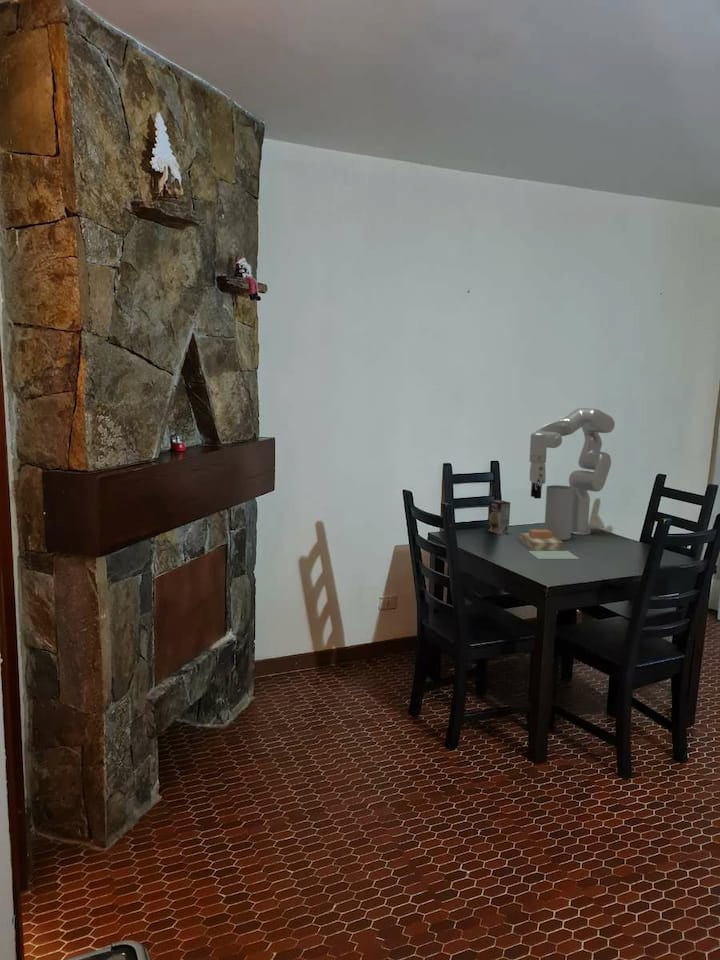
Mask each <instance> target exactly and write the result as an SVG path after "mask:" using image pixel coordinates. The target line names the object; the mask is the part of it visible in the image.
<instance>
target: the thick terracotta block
mask: <svg viewBox="0 0 720 960" xmlns="http://www.w3.org/2000/svg"><path fill="white" fill-rule="evenodd" d="M528 533H529V536H530V537H531V538H533V539H552V532H551V531H550V530H548V529H544V528H543V529H535V528H532V529H528Z"/></svg>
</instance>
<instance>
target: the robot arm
mask: <svg viewBox="0 0 720 960" xmlns="http://www.w3.org/2000/svg"><path fill="white" fill-rule="evenodd" d="M615 423H616V422H615V420H614V418H613V417H612V416H611V415H609V414H608V413H605V412H604V411H602V410H600V409H597V408H594V407H593V408H591V407H589V408H587V407H586V408H585V407H579V408H576V409H574V410H573V411H572V412H570V413H569V414H568V415H566V416H565V417H563V418H562V419H558V420H556V421H553V422H550V423H547V424H545V425H543V426H541V427H540V428H538V429H536V431H534V432H532V433H531V434H530V444H529V445H530V446H529V463H530V466H529V481H530V482H531V483H530V484H531V485H530V488H531V489H530V497H531V498H534V499H541V498H542V487H543V485H544V484H546V481H547V479H546V473H547V472H546V471H547V470H546V463H547V449H548V448H549V449H550V448H551V449H556V448H559V446H561V445H562V443H563V438H562V437H566V436H570V435H572V434H574V433H575V432H577V431H578V430H579V429H580V428H581V429H582V432H583V434H584V442H583V446H582V449H581V451H580V456H579V457H578V466H579V468H581V470H580V469H578V470H573V471H572V472H571V473H570V474H569V477H568V484H569V485H568V486H569V487H573V488H574V489H573V506H572V523H571V533H572V534H571V535H576V536H577V535H579V536H580V535H581V536H583V535H584V536H586V535H590V534H592V530H598V529H599V528H598V527H599V526H598V525H595V524H590V523H589V522H590V521H589V518H590V517H589V516H590V503H591V498H590V494H589V492H594V493H595V492H600V491H602V490H603V488H604V486H605V485H606V484H605V483H606V482H607V478H608V475H609V472H610V469H611V464H612V459H611V456H610V454H609V453H608V452H606V451H605V452H604V451H601V449H602V447H603V446H602V445H603V441H602V438H601V436H600V434H608V433H611V432H612V431H613V430H614V429H615V426H616V425H615ZM599 433H600V434H599ZM582 469H583V470H582Z"/></svg>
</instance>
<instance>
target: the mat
mask: <svg viewBox="0 0 720 960" xmlns="http://www.w3.org/2000/svg"><path fill="white" fill-rule="evenodd" d="M528 552H529V554H531V555H533V557H535V558H536V559H537V560H580V557H578V556H576V555H574V554H573V553H572V552H570V551H569V550H563V551H531V550H528Z"/></svg>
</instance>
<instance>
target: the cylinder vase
mask: <svg viewBox="0 0 720 960" xmlns="http://www.w3.org/2000/svg"><path fill="white" fill-rule="evenodd" d="M573 489H574V488H573V487H570V485H560V484H559V485H557V484H555V485H547V486H546V490H545V491H546V492H545V514H544V528H543V529H548V530H550V531H551V532H552V535H553V536H554V537H556V538H557V539H559V540H560V541H569V540H571V537H572V534H571V523H572V506H573Z"/></svg>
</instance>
